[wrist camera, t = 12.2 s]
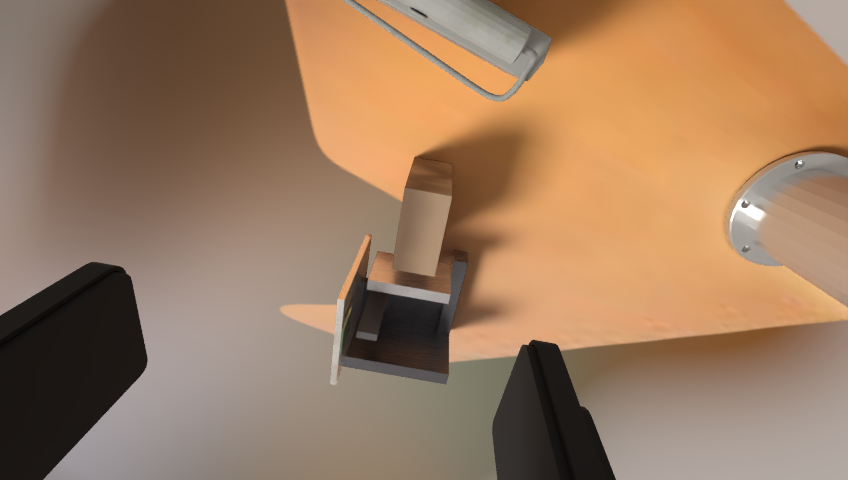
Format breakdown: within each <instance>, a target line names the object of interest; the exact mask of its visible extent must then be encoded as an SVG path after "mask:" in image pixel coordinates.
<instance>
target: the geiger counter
mask: <svg viewBox="0 0 848 480" xmlns="http://www.w3.org/2000/svg"><path fill="white" fill-rule="evenodd" d="M343 1H345V2H346V3H347V4H349V5H350V6H352V7H353V8H355V9H356V10H358V11H359V12H361V13H362V14H363V15H365V16H366V17H368V18H369V19H371V20H372V21H374V22H375V23H376V24H378V25H379V26H381V27H382V28H384V29H385V30H387V31H388V32H390V33H391V34H392V35H394V36H395V37H397V38H398V39H400V40H401V41H403V42H404V43H405V44H407V45H408V46H410V47H411V48H413V49H414V50H416V51H417V52H419V53H420V54H421V55H423V56H424V57H426V58H427V59H429V60H430V61H432V62H433V63H434V64H436V65H437V66H439V67H440V68H442V69H443V70H445V71H446V72H448V73H449V74H450V75H452V76H453V77H455V78H456V79H458V80H459V81H461V82H462V83H463V84H465V85H466V86H468V87H469V88H471V89H473V90H474V91H476V92H477V93H479V94H480V95H482V96H484V97H486V98H488V99H490V100H493V101H504V100H507V99H509V98H510V97H511V96H512V95H514V94H515V93H516V92H517V91H518V89H519V88H520V87H521V86H522V84H523V83H524V81H528V80H529V79H530V78H531V77H532V76H533V74H534V73H535V72H536V71H537V70H538V68H539V67H540V66H541V65H542V64H543V62H544V59H545V57H546V54H547V51H548V49H549V46H550V43H551V41H552V38H551V37H549V36H548V35H546V34H544V33H542V32H541V31H539V30H537V29H536V28H534V27H532V26H531V25H529V24H527V23H525V22H524V21H522V20H520V19H519V18H517V17H515V16H514V15H512V14H510V13H509V12H507V11H505V10H503V9H502V8H500V7H498V6H497V5H495V4H493V3H492V2H490V1H488V0H377V1H379V2H381V3H383V4H384V5H386V6H388V7H390V8H392V9H393V10H395V11H397V12H399V13H400V14H402V15H404V16H406V17H408V18H409V19H411V20H413V21H415V22H416V23H418V24H420V25H422V26H424V27H425V28H427V29H429V30H431V31H433V32H434V33H436V34H438V35H440V36H441V37H443V38H445V39H447V40H449V41H450V42H452V43H454V44H456V45H457V46H459V47H461V48H463V49H465V50H466V51H468V52H470V53H472V54H473V55H475V56H477V57H479V58H481V59H482V60H484V61H486V62H488V63H489V64H491V65H493V66H495V67H497V68H498V69H500V70H502V71H504V72H506V73H508V74H510V75H513V76H515V77H518V78H519V79H518V81H517V82H516V83H515V84H514V86H513V87H512V88H511V89H510V90H509V91H508V92H507V93H505V94H504V95H501V96H500V95H494V94H492V93H489V92H487V91H486V90H484V89H482V88H481V87H479V86H478V85H476V84H475V83H473V82H471V81H470V80H469V79H467V78H466V77H464V76H463V75H461V74H460V73H458V72H457V71H456V70H454V69H453V68H451V67H450V66H448V65H447V64H445V63H444V62H443V61H441V60H440V59H438V58H437V57H435V56H434V55H432V54H431V53H430V52H428V51H427V50H425V49H424V48H422V47H421V46H419V45H418V44H417V43H415V42H414V41H412V40H411V39H409V38H408V37H406V36H405V35H404V34H402V33H401V32H399V31H398V30H396V29H395V28H393V27H392V26H391V25H389V24H388V23H386V22H385V21H383V20H382V19H380V18H379V17H378V16H376V15H375V14H373V13H372V12H370V11H369V10H367V9H366V8H365V7H363V6H362V5H360V4H359V3H357V2H356V1H354V0H343Z"/></svg>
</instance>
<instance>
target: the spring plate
mask: <svg viewBox="0 0 848 480" xmlns="http://www.w3.org/2000/svg"><path fill="white" fill-rule="evenodd" d="M393 259H394V254H390V253H385V252H380V251H378V252H377V255H376V258H375V261H374V264H373V267H372V270H371V272H370V275H369V278H368V283H367V290H372V291H378V292H384V293H389V294H395V295H400V296H406V297H411V298H417V299H422V300H428V301H433V302H439V303H445V304H448V303H449V299H450V295H451V264H445V263H440V262H438V263H437V268H436V273H435V277H432V276H427V275H421V274H416V273H410V272H405V271H399V270H394V269H392V265H393Z"/></svg>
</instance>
